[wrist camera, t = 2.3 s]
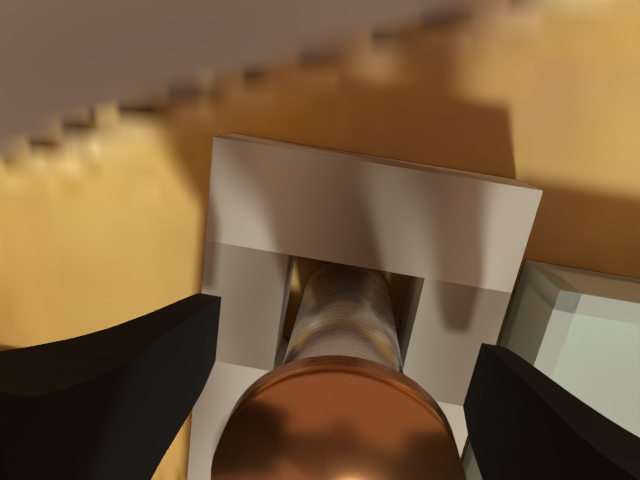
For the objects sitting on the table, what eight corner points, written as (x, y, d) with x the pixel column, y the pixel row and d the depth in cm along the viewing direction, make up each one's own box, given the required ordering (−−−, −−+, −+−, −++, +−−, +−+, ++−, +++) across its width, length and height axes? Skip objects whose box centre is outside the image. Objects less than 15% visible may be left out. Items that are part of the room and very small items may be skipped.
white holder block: (198, 514, 18) (148, 643, 14) (233, 133, 14) (173, 144, 9) (408, 554, 18) (424, 700, 14) (516, 179, 13) (597, 213, 9)
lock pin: (277, 343, 16) (201, 560, 8) (293, 228, 15) (221, 360, 7) (396, 364, 16) (433, 607, 8) (423, 251, 14) (498, 409, 7)
